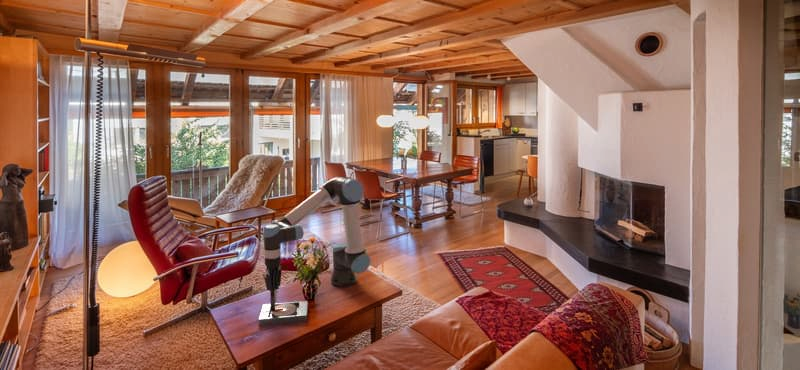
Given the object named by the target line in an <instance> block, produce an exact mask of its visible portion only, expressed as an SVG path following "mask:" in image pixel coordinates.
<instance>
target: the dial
mask: <svg viewBox="0 0 800 370" xmlns="http://www.w3.org/2000/svg"><path fill="white" fill-rule="evenodd" d="M269 300H270V304H271V311H272V316H273V317H281V316H293V315H295V314H296V312H297V307H296V306H295V305H293V304H281V305H277V306H275V296H270V298H269Z"/></svg>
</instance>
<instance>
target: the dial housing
mask: <svg viewBox="0 0 800 370" xmlns="http://www.w3.org/2000/svg"><path fill="white" fill-rule="evenodd" d="M281 304H293V305H295V306H296V307H297V312H296V314H295V315H293V316H281V317H273V316H272V311H271V303H265V304H262V308H261V311H260V313H259V316H258V327H265V326H275V325H286V324H297V323H299V324H300V323H307V321H308V307H309V306H308V305H309V303H308V300H302V301H301V300H300V301H299V300H298V301H287V302H279V303H278V302H276V303H275V306H277V305H281Z"/></svg>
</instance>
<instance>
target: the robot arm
mask: <svg viewBox="0 0 800 370" xmlns="http://www.w3.org/2000/svg"><path fill="white" fill-rule="evenodd" d="M363 195H364V187H363V184H362V182H360V181H358V180H356V179H354V178H351V177H349V178H348V177H345V176H344V177H343V176H335V177H333V178H331V179H329V180H327V181H326V182H325V183H323V184H322V185H321V186H319V188H318V190H317V191H315V192H314V193H313V194H311V195H310V196H309V197H308V198H306V199H305V200H304V201H302V202H301V203H300V204H298V205H297V206H295V207H294V208H293V209H292V210H290V211H289V212H288V213H287V214H285V215H284V216H282V217H281V218H280V219H274V220H272V221H271V222H270V224H266V225H265V226H264V227H263V232H262V234H263V235H262V236H263V250H264V251H263V252H264V253H263V254H264V255H263V256H264V265H265V266H266V270H265V273H263V274H262V277H263V278H264V283H265V286H266V290H267V291H270V297H271V296H275V303H278V290H279V289H280V286H281V281H282V280H281V279H282V271H283V270H284V269H283V268H284V266H283V265H280V264H281V263H282V260H281V259H282V258H281V254H282V253H281V244H284V243H290V242H295V241H299V240H302V239H303V237H304V228H303V226H302V225H301V224H299V223H301V222H302V221H303V220H304V219H306V218H307V217H308V216H310V215H311V214H312V213H313V212H315V211H316V210H317V209H318V208H320V207H321V206H322V205H324V204H325V203H326V202H330V201H333V200H334V199H335V198H338V204H339V205H340V206H341V208H342V215H343V222H344V230H345V231H344V233H345V241H346V243H345V242H343V243H338V244H335V245H334V246H332V265H333V266H332V268H333V270H332V273H331V277H330V284H331V283H332V284H333V285H332V284H331V285H332V286H334V285H336V286H335V287H341V286H343V287H349V285H350V286H352V284H353V285H354V284H356V283H357V276H356V274H358V275H359V274H363V273H365V272H366V271H367V270H368V269H369V268H370V265H371V257H370V255H369V254H367V253H366V247H365V245H363V240H362V239H363V237H362V230H361V229H362V228H361V219H360V212H359V211H360V210H359V204H360V203H361V199H362V197H363Z"/></svg>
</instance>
